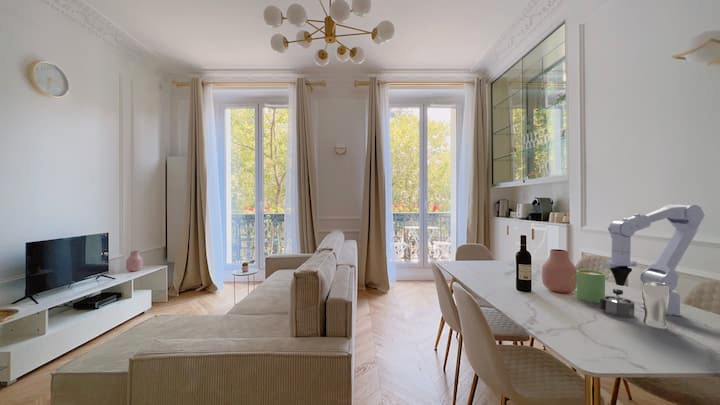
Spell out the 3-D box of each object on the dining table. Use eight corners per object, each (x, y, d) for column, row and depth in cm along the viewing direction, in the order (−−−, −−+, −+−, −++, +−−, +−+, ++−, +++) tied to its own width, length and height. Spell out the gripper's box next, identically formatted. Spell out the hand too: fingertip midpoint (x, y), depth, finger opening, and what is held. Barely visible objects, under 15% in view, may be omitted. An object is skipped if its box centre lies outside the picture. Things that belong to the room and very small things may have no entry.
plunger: (624, 300, 122) (624, 288, 122) (632, 306, 116) (633, 293, 116) (603, 298, 125) (603, 286, 124) (611, 304, 118) (611, 291, 118)
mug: (603, 297, 139) (603, 271, 139) (606, 304, 130) (606, 276, 130) (569, 292, 146) (569, 267, 146) (570, 298, 137) (570, 272, 137)
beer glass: (674, 330, 104) (674, 287, 104) (650, 328, 106) (651, 285, 106) (658, 322, 111) (659, 281, 111) (636, 320, 113) (637, 280, 112)
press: (626, 310, 123) (626, 297, 123) (637, 318, 115) (638, 305, 114) (596, 307, 126) (596, 294, 126) (605, 315, 118) (605, 301, 118)
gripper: (623, 248, 128) (622, 281, 128) (596, 250, 124) (596, 283, 124) (642, 251, 121) (641, 286, 121) (615, 253, 117) (614, 288, 117)
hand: (620, 285), depth 122 cm, fingers closed
